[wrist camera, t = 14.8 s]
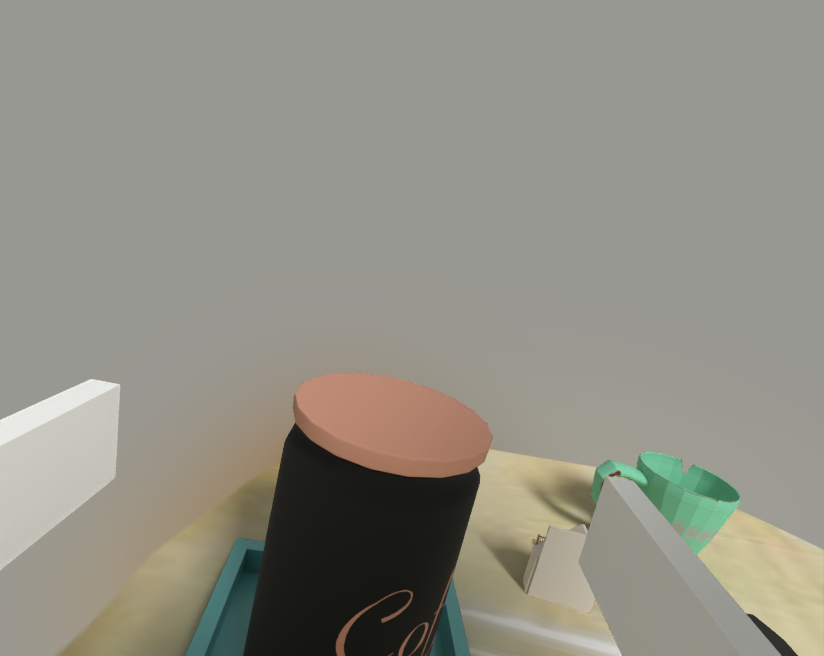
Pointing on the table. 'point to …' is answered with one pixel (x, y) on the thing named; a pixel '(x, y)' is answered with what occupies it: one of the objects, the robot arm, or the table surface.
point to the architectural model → (559, 569)
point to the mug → (678, 494)
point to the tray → (233, 600)
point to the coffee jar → (366, 519)
